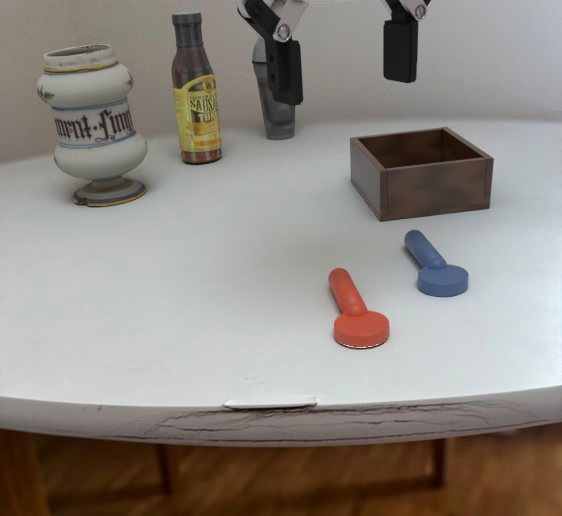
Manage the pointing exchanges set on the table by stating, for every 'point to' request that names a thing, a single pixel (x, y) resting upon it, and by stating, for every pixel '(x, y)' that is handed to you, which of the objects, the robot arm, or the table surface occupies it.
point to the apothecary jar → (93, 122)
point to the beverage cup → (271, 100)
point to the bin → (420, 173)
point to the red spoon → (355, 314)
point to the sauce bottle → (194, 92)
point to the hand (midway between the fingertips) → (345, 91)
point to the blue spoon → (435, 268)
